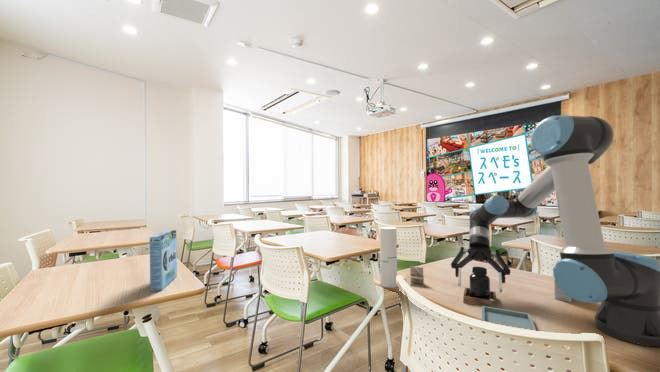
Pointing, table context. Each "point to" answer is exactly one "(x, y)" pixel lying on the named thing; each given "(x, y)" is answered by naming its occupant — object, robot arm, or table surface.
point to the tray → (507, 317)
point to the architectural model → (416, 274)
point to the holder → (480, 301)
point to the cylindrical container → (388, 256)
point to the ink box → (561, 294)
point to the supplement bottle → (479, 283)
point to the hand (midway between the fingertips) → (479, 287)
